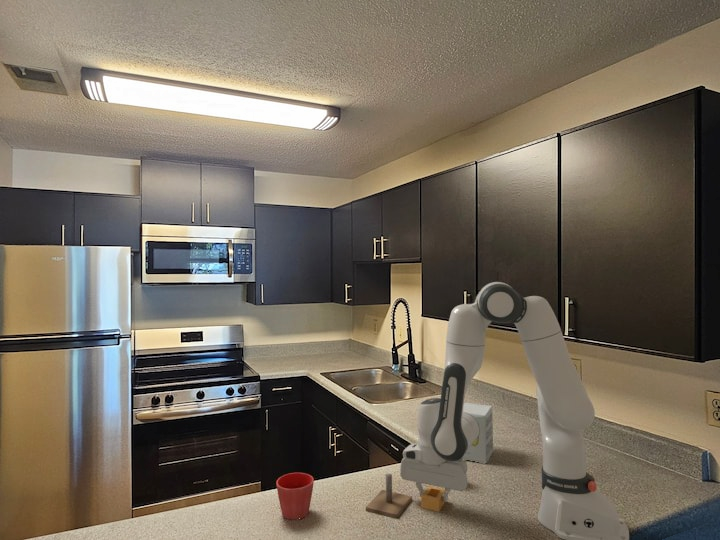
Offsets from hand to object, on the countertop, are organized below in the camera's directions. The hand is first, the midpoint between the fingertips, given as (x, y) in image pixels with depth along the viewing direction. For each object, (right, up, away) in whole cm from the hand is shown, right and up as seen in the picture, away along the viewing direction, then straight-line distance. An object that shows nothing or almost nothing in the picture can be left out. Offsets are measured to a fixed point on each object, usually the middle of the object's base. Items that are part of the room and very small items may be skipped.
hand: (433, 498), depth 139 cm
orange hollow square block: (0, -2, 0) cm, 2 cm away
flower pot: (-41, -3, -4) cm, 41 cm away
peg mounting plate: (-13, -2, 0) cm, 14 cm away
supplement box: (+19, -2, +38) cm, 42 cm away
